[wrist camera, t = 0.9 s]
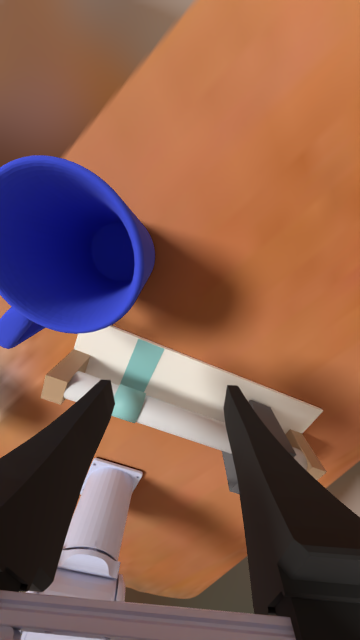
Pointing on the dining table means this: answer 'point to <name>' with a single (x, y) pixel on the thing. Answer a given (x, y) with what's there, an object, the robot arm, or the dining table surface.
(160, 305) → the dining table surface
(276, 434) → the collar
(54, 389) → the linear rail slide
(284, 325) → the dining table surface
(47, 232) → the mug
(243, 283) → the dining table surface
